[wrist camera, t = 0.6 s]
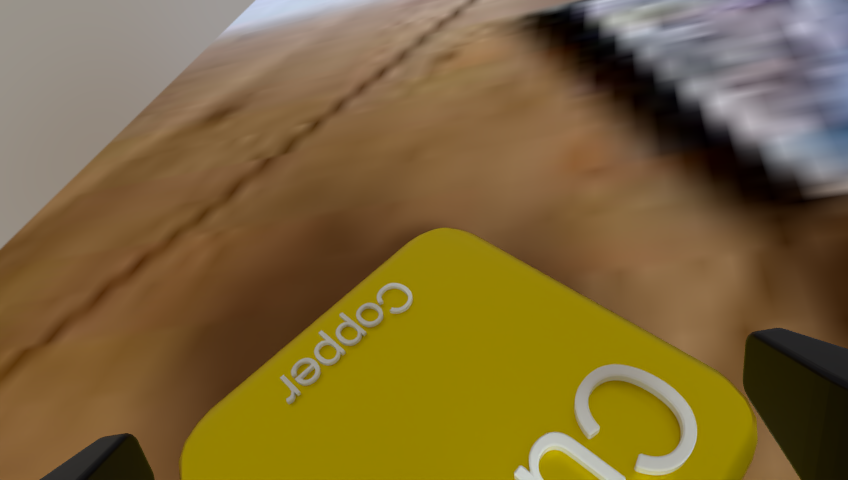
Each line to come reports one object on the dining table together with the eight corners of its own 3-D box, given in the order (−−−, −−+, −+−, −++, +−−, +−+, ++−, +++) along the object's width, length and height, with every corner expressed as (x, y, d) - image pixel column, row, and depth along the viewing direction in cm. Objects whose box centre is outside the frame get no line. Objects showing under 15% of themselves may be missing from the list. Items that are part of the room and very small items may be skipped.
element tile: (448, 268, 28) (438, 203, 24) (741, 453, 19) (790, 395, 16) (207, 491, 21) (146, 446, 18) (494, 908, 13) (486, 977, 9)
